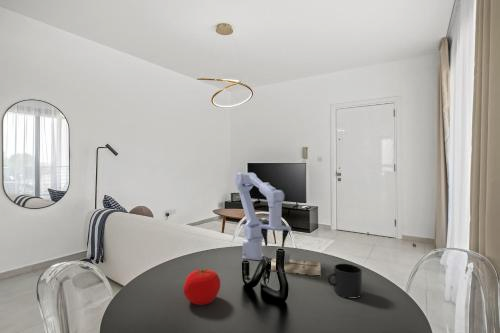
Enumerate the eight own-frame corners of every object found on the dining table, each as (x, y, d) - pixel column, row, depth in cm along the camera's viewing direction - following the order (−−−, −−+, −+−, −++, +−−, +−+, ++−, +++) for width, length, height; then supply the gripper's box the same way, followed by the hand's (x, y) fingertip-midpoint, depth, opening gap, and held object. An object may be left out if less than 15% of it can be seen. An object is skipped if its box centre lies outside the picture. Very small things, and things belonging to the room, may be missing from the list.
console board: (268, 270, 116) (269, 264, 116) (272, 262, 126) (272, 257, 126) (320, 276, 111) (320, 270, 111) (320, 267, 120) (320, 262, 121)
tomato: (176, 305, 85) (177, 273, 85) (198, 290, 96) (199, 261, 96) (206, 314, 80) (206, 279, 80) (225, 296, 91) (226, 266, 92)
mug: (323, 286, 101) (324, 263, 101) (355, 287, 101) (355, 263, 101) (331, 298, 92) (331, 272, 92) (365, 299, 91) (366, 273, 92)
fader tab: (282, 263, 118) (282, 255, 118) (283, 259, 122) (283, 252, 122) (289, 263, 117) (289, 255, 117) (289, 260, 121) (290, 252, 121)
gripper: (258, 217, 119) (257, 247, 119) (290, 218, 116) (289, 249, 116) (260, 214, 126) (260, 242, 125) (291, 216, 123) (290, 245, 122)
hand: (274, 246), depth 121 cm, fingers open, 7 cm apart
